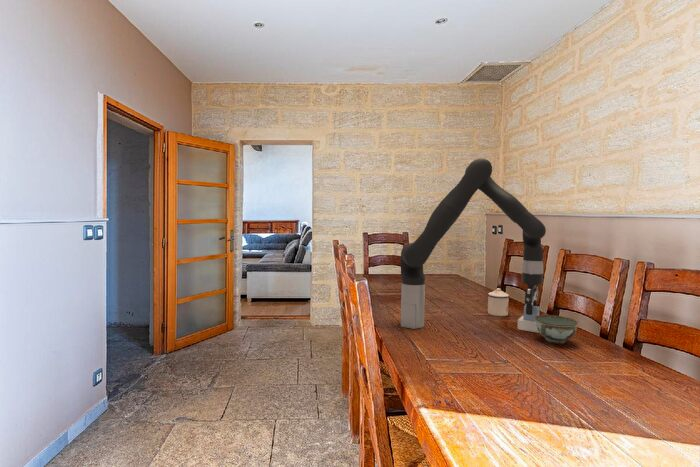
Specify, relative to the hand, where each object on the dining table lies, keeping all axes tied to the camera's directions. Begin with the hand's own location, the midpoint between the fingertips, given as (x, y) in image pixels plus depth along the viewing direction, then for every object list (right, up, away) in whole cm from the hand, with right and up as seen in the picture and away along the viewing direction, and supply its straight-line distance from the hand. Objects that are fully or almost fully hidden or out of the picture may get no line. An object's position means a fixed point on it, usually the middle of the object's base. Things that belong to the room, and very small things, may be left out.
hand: (531, 312), depth 152 cm
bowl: (+2, -8, -15) cm, 17 cm away
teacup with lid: (-4, -6, +24) cm, 25 cm away
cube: (0, -3, 0) cm, 3 cm away
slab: (0, -7, 0) cm, 7 cm away
